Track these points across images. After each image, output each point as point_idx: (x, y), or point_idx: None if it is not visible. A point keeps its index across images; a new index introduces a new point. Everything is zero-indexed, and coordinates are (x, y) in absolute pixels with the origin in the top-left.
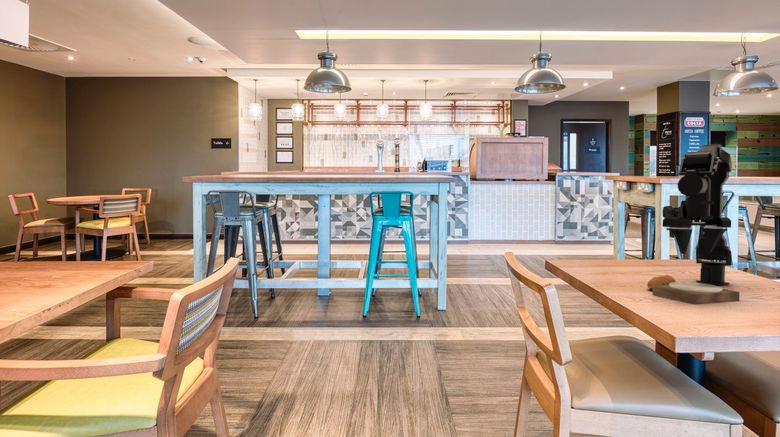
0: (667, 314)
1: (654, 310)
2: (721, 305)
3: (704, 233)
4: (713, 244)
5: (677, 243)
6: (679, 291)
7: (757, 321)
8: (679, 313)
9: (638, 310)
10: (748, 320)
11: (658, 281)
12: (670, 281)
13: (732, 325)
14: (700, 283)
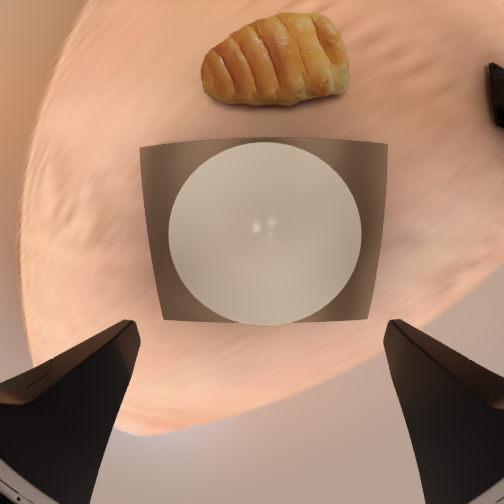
0: (61, 340)
1: (52, 312)
2: (239, 331)
3: (497, 410)
4: (402, 408)
5: (63, 354)
6: (154, 267)
7: (179, 415)
8: None
9: (30, 301)
10: (169, 409)
11: (228, 81)
12: (289, 94)
13: (121, 408)
14: (351, 203)
